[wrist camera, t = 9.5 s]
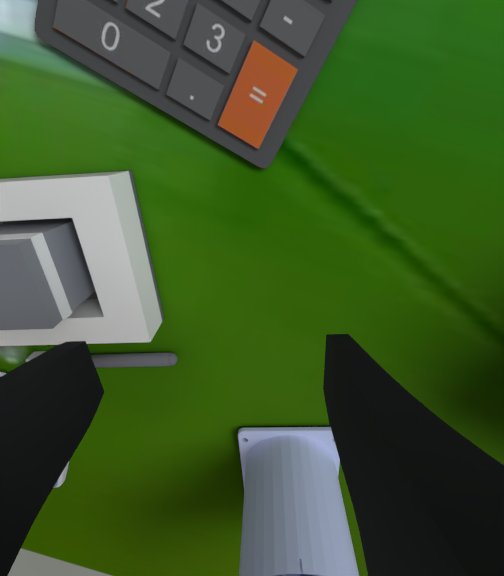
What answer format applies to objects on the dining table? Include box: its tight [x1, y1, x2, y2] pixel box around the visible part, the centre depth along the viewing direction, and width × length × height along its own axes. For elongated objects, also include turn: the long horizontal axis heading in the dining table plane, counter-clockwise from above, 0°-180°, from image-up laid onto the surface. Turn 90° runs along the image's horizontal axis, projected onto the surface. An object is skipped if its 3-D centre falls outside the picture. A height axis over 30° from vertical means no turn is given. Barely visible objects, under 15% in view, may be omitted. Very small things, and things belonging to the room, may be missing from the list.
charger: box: [0, 218, 96, 330], centre depth 15 cm, size 4×4×5 cm
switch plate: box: [0, 170, 164, 346], centre depth 17 cm, size 9×14×3 cm, turn 94°
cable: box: [26, 351, 177, 368], centre depth 21 cm, size 1×10×1 cm, turn 93°
